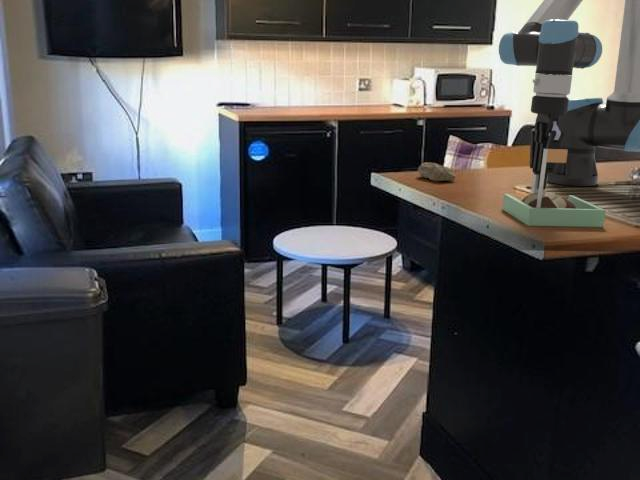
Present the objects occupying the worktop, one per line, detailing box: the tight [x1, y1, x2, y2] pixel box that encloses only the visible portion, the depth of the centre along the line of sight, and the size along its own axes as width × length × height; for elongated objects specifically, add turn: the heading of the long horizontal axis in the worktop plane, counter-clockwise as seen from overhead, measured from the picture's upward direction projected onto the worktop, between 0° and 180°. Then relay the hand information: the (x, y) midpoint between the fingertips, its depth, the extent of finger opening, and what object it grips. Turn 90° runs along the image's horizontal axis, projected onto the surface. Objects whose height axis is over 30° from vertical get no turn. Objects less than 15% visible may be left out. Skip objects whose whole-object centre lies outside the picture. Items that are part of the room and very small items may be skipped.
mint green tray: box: [501, 149, 607, 228], centre depth 143 cm, size 16×15×16 cm
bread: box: [521, 192, 577, 209], centre depth 146 cm, size 11×11×5 cm
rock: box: [417, 161, 457, 183], centre depth 187 cm, size 8×11×4 cm
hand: (536, 202), depth 152 cm, fingers closed
